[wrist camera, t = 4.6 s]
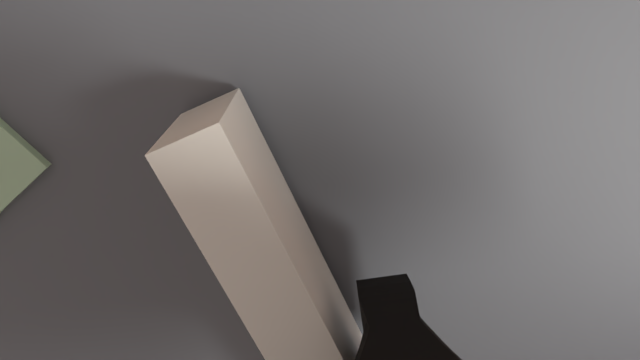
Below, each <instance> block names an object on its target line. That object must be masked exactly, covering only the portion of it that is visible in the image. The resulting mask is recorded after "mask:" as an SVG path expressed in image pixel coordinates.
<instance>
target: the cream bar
mask: <svg viewBox="0 0 640 360" xmlns="http://www.w3.org/2000/svg"><path fill="white" fill-rule="evenodd" d="M145 157H146V159H147V161H148V162H149V164H150V166H151V167H152V169H153V171H154V172H155V174H156V176H157V177H158V179H159V181H160V183H161V184H162V186H163V188H164V189H165V191H166V193H167V194H168V196H169V198H170V199H171V201H172V203H173V205H174V206H175V208H176V210H177V211H178V213H179V215H180V216H181V218H182V220H183V222H184V223H185V225H186V227H187V228H188V230H189V232H190V233H191V235H192V237H193V238H194V240H195V242H196V244H197V245H198V247H199V249H200V250H201V252H202V254H203V255H204V257H205V259H206V261H207V262H208V264H209V266H210V267H211V269H212V271H213V272H214V274H215V276H216V277H217V279H218V281H219V283H220V284H221V286H222V288H223V289H224V291H225V293H226V294H227V296H228V298H229V299H230V301H231V303H232V305H233V306H234V308H235V310H236V311H237V313H238V315H239V316H240V318H241V320H242V322H243V323H244V325H245V327H246V328H247V330H248V332H249V333H250V335H251V337H252V338H253V340H254V342H255V344H256V345H257V347H258V349H259V350H260V352H261V354H262V355H263V357H264V359H265V360H355V357H356V354H357V352H358V349H359V346H360V343H361V339H362V334H361V332H360V330H359V328H358V326H357V324H356V322H355V320H354V318H353V316H352V314H351V312H350V310H349V308H348V306H347V304H346V301H345V299H344V297H343V295H342V293H341V291H340V289H339V287H338V285H337V283H336V281H335V279H334V277H333V275H332V273H331V271H330V269H329V267H328V265H327V263H326V261H325V259H324V257H323V255H322V253H321V251H320V249H319V247H318V245H317V243H316V241H315V239H314V237H313V235H312V233H311V231H310V229H309V227H308V225H307V223H306V221H305V219H304V217H303V215H302V213H301V211H300V209H299V207H298V205H297V203H296V201H295V199H294V197H293V195H292V193H291V191H290V189H289V187H288V185H287V183H286V181H285V179H284V177H283V175H282V173H281V171H280V169H279V167H278V165H277V163H276V161H275V159H274V157H273V155H272V153H271V151H270V149H269V147H268V145H267V143H266V141H265V139H264V137H263V135H262V133H261V131H260V129H259V127H258V125H257V123H256V121H255V118H254V116H253V114H252V112H251V110H250V108H249V106H248V104H247V102H246V100H245V98H244V96H243V94H242V92H241V90H240V88H237V89H235V90H233V91H231V92H229V93H226V94H224V95H222V96H220V97H217V98H215V99H213V100H211V101H208V102H206V103H204V104H202V105H200V106H197V107H195V108H193V109H191V110H188V111H186V112H184V113H182V114H180V115H179V117H178V118H177V119H176V120H175V121H174V122H173V123H172V125H171V126H170V127H169V128H168V129H167V130H166V131H165V133H164V134H163V135H162V136H161V137H160V138H159V139H158V141H157V142H156V143H155V144H154V145H153V146H152V147H151V148H150V150H149V151H148V152H147V153H146V154H145Z"/></svg>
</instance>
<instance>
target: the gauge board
mask: <svg viewBox="0 0 640 360" xmlns="http://www.w3.org/2000/svg"><path fill="white" fill-rule="evenodd" d="M237 88H240V90H241V92H242V94H243V96H244V98H245V100H246V102H247V104H248V106H249V108H250V110H251V112H252V114H253V116H254V118H255V121H256V123H257V125H258V127H259V129H260V131H261V133H262V135H263V137H264V139H265V141H266V143H267V145H268V147H269V149H270V151H271V153H272V155H273V157H274V159H275V161H276V163H277V165H278V167H279V169H280V171H281V173H282V175H283V177H284V179H285V181H286V183H287V185H288V187H289V189H290V191H291V193H292V195H293V197H294V199H295V201H296V203H297V205H298V207H299V209H300V211H301V213H302V215H303V217H304V219H305V221H306V223H307V225H308V227H309V229H310V231H311V233H312V235H313V237H314V239H315V241H316V243H317V245H318V247H319V249H320V251H321V253H322V255H323V257H324V259H325V261H326V263H327V265H328V267H329V269H330V271H331V273H332V275H333V277H334V279H335V281H336V283H337V285H338V287H339V289H340V291H341V293H342V295H343V297H344V299H345V301H346V304H347V306H348V308H349V310H350V312H351V314H352V316H353V318H354V320H355V322H356V324H357V326H358V328H359V330H360V332H361V334H362V335H363V326H362V319H361V312H360V305H359V298H358V291H357V284H356V280H362V279H370V278H377V277H384V276H392V275H399V274H406V273H407V275H408V277H409V279H410V281H411V283H412V285H413V287H414V290H415V294H416V299H417V305H418V310H419V315H420V317H421V318H422V319H423V320H424V322H425V323H426V324H427V325H428V326H429V327H430V328H431V329H432V330H433V331H434V332H435V333H436V334H437V336H438V337H439V338H440V339H441V340H442V341H443V342H444V343H445V344H446V345H447V346H448V347H449V348H450V349H451V350H452V351H453V352H454V353H455V354H456V355H458V356H459V357H460V358H461V359H462V360H640V0H0V360H265V359H264V357H263V355H262V354H261V352H260V350H259V349H258V347H257V345H256V344H255V342H254V340H253V338H252V337H251V335H250V333H249V332H248V330H247V328H246V327H245V325H244V323H243V322H242V320H241V318H240V316H239V315H238V313H237V311H236V310H235V308H234V306H233V305H232V303H231V301H230V299H229V298H228V296H227V294H226V293H225V291H224V289H223V288H222V286H221V284H220V283H219V281H218V279H217V277H216V276H215V274H214V272H213V271H212V269H211V267H210V266H209V264H208V262H207V261H206V259H205V257H204V255H203V254H202V252H201V250H200V249H199V247H198V245H197V244H196V242H195V240H194V238H193V237H192V235H191V233H190V232H189V230H188V228H187V227H186V225H185V223H184V222H183V220H182V218H181V216H180V215H179V213H178V211H177V210H176V208H175V206H174V205H173V203H172V201H171V199H170V198H169V196H168V194H167V193H166V191H165V189H164V188H163V186H162V184H161V183H160V181H159V179H158V177H157V176H156V174H155V172H154V171H153V169H152V167H151V166H150V164H149V162H148V161H147V159H146V157H145V154H146V153H147V152H148V151H149V150H150V148H151V147H152V146H153V145H154V144H155V143H156V142H157V141H158V139H159V138H160V137H161V136H162V135H163V134H164V133H165V131H166V130H167V129H168V128H169V127H170V126H171V125H172V123H173V122H174V121H175V120H176V119H177V118H178V117H179V115H180V114H182V113H184V112H186V111H188V110H191V109H193V108H195V107H197V106H200V105H202V104H204V103H206V102H208V101H211V100H213V99H215V98H217V97H220V96H222V95H224V94H226V93H229V92H231V91H233V90H235V89H237Z"/></svg>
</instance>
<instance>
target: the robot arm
mask: <svg viewBox="0 0 640 360" xmlns="http://www.w3.org/2000/svg"><path fill="white" fill-rule="evenodd" d="M356 284H357V291H358V298H359V305H360V312H361V319H362V326H363V335H362V339H361V343H360V346H359V349H358V352H357V354H356V357H355V360H462V359H461V358H460V357H459V356H458V355H456V354H455V353H454V352H453V351H452V350H451V349H450V348H449V347H448V346H447V345H446V344H445V343H444V342H443V341H442V340H441V339H440V338H439V337H438V336H437V334H436V333H435V332H434V331H433V330H432V329H431V328H430V327H429V326H428V325H427V324H426V323H425V322H424V320H423V319H422V318H421V317H420V315H419V310H418V305H417V299H416V294H415V290H414V287H413V285H412V283H411V281H410V279H409V277H408V275H407V273H406V274H399V275H392V276H384V277H377V278H370V279H362V280H356Z"/></svg>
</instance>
